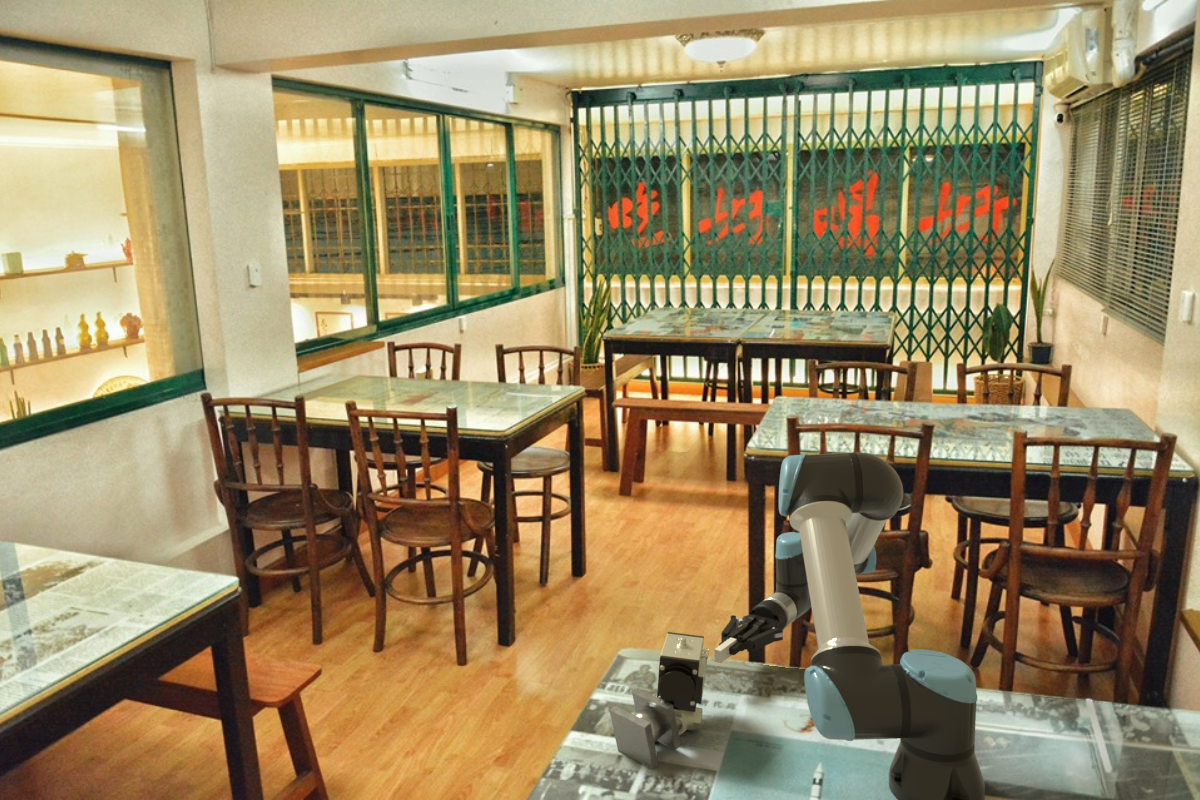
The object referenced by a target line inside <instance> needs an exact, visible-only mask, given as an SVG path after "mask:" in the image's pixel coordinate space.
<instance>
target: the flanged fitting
mask: <svg viewBox="0 0 1200 800" xmlns="http://www.w3.org/2000/svg"><path fill="white" fill-rule="evenodd" d="M631 694H632V698H633V705H634V709H635V713H634V714H633V713H631V712H629V711H627V710H626V709H623V708H622V707H619V706H617V705H614V706H612V707H611V708H610V709H609V716H610V719H611V725H612V728H613V734H614V737H615V738H614V740H615V743H616V749H617V751H619V752H620V753H622V754H624V755H626V756H628V757H629V758H631V759H633V760H635V761H637V762H638V763H640V764H642V765H644V766H646V767H647V768H649V769H651V770H654V769H655V768H657V767H658V766H659V760H658V759H659V758H658V754H657V750H656V745H655V743H656V742H659V743H660V744H662V745H664V746H666V747H668V748H670V749H672V750H674V751H676V750H677V749H678V748H680V747H681V746H682V745H681V742H680V741H681V740H680V735H679V734H678V729H677V724H676V718H675V713H674V708H673V704H671V703H668V702H664V701H663V700H662V699H660V698H658V697H657V695H656V696H655V695H654V694H651V693H649V692H647V691H644V690H643V689H640V688H638V687H637V688H636V689H634V690H633V691H632V692H631Z"/></svg>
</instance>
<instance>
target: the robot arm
mask: <svg viewBox="0 0 1200 800" xmlns="http://www.w3.org/2000/svg"><path fill="white" fill-rule="evenodd" d="M778 484H779V485H778V511H779V514H780V515H781V516H784V517H788V519H789V524H790V527H792V528H793V530H795V531H797V532H795V531H792V532H791V531H789V532H783V533H781V534H780V535H778V536H777V538H776V544H775V568H776V569H775V573H776V574H775V575H776V579H775V583H776V584H775V587H776V590H775V592H773V593H772V594H771V595H769V596H767V597H766V598H765V599H764V600H762V601H761V602H759V603H758V604H756V605H755V606H754V607H753V608H752V609H751V611H750V613H749V614H748V615H744V616H743V617H742V618H739V617H737V616H736V615H735V614H734V615H733V614H732V615H730V617H729V618H730V620H729V621H728V623H727V624H726V626H725V628H723V630H722V631H721V633H720V635H721V642H720V643H719V644H718V646H717V647H715V648H714V649H713V651H714V652H713V653H714V662H715V663H718V664H722V663H723V662H724V661H726V660H727V659H729V658H730V657H732V656H736V655H737V654H738V653H739V652H744V651H747V652H748V653H753V652H755V651H757V650H760V649H761V648H764V647H766V646H768V645H771V644H773V643H775V642H779V641H782V640H784V630H785V629H786V628H787V627H788V626H789V625H791V624H792V623H793V622H795V621H796V620H798V618H801V616H803V615H805V614H806V613H807V612H809V611H810V609H811V612H812V618H813V624H814V629H815V630H814V631H815V638H816V644H817V651H816V652H814V654H813V655H812V656H811V660H810V663H811V665H810V666H809V667H807V668H806V669H805V671H804V673H803V675H804V676H803V677H804V678H803V679H804V680H803V681H804V689H805V697H806V698H805V699H806V701H807V706H808V710H809V713H810V716H811V719H812V720H811V721H812V722H813V724H814V727H815V728H816V730H817V731H818V733H819V734H820V735H821V737H823V738H825V739H828V740H839V741H848V742H852V741H855V740H857V741H858V740H888V739H889V740H892V739H895V740H897V739H900V741H899V744H898V746H897V749H896V751H895V754H894V756H893V758H892V762H891V764H890V766H889V770H888V787H889V789H890V792H891V793H892V795H893V796H894V797H895V798H896V800H986V799H985V797H986V795H985V794H986V784H985V780H984V776H983V773H982V771H981V767H980V764H979V762H978V758H977V756H976V753H975V748H976V747H975V741H976V718H977V715H976V714H977V713H976V712H977V701H978V694H977V679H976V674H975V672H974V671H973V670H972V668H971V667H969V665H967V664H966V663H965V662H964V661H962V660H961V659H958V658H957V657H955V656H952V655H951V654H947V653H945V652H941V651H937V650H932V649H922V648H920V649H918V648H917V649H916V648H915V649H910V650H909V651H905V652H904V653H903V654H902V655H901V658H900V660H899V663H898V664H896V663H895V664H884V663H883V660H882V655H881V651H880V650H879V649H878V648H877V647H875V646H874V645H873V644H870V642H869V636H868V631H867V626H866V620H865V616H864V611H863V606H862V601H861V595H860V590H859V586H858V580H857V576H859V575H862V574H872V573H873V572H875V570H876V567H877V566H876V565H877V553H876V552H877V551H876V548H875V544H876V543H877V540H878V539H879V537H880V534H881V532H882V530H883V528H884V526H885V525H886V522H887V521H888V520H889V519H892V518H893V517H894V516H895V515H896V514H897V512H898V511H899V510H900V507H901V506H902V503H903V498H904V487H903V483H902V480H901V478H900V475H899V474H898V473H897V471H896V470H895V469H894V467H893V466H892V465H890V463H889V462H887V461H886V460H884V459H883V458H881V457H879V456H877V455H874V454H872V453H867V452H861V451H860V452H859V451H857V452H840V453H839V452H838V453H836V452H835V453H822V454H820V453H817V454H807V453H802V454H794V455H788V456H785V458H783V460H782V462H781V466H780V473H779V483H778Z"/></svg>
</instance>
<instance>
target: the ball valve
mask: <svg viewBox="0 0 1200 800" xmlns="http://www.w3.org/2000/svg"><path fill="white" fill-rule="evenodd" d="M664 640H665V641H664V644H663V646H662V649H661V653H660V657H659V664H658V666H659V667H658V676H657V677H658V679H657V681H658V682H657V695H656V697H658V698H660V699H662V700H663V701H664V702H668V703H671V704H673V708H674V713H675V718H676V724H677V729H678V734H679V736H681V735H682V734H684V733H685V732H686V731H694V730H700V731H701V730H702V722H703V707H697V705H701V704H702V700H703V695H704V688H705V684H706V683H705V681H706V676H707V665H708V659H709V653H710V649H709V647H708V648H705V647H704V641H705V636H703V635H695V634H688V633H681V632H680V633H679V632H673V631H667V633H666V637H665V639H664Z"/></svg>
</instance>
